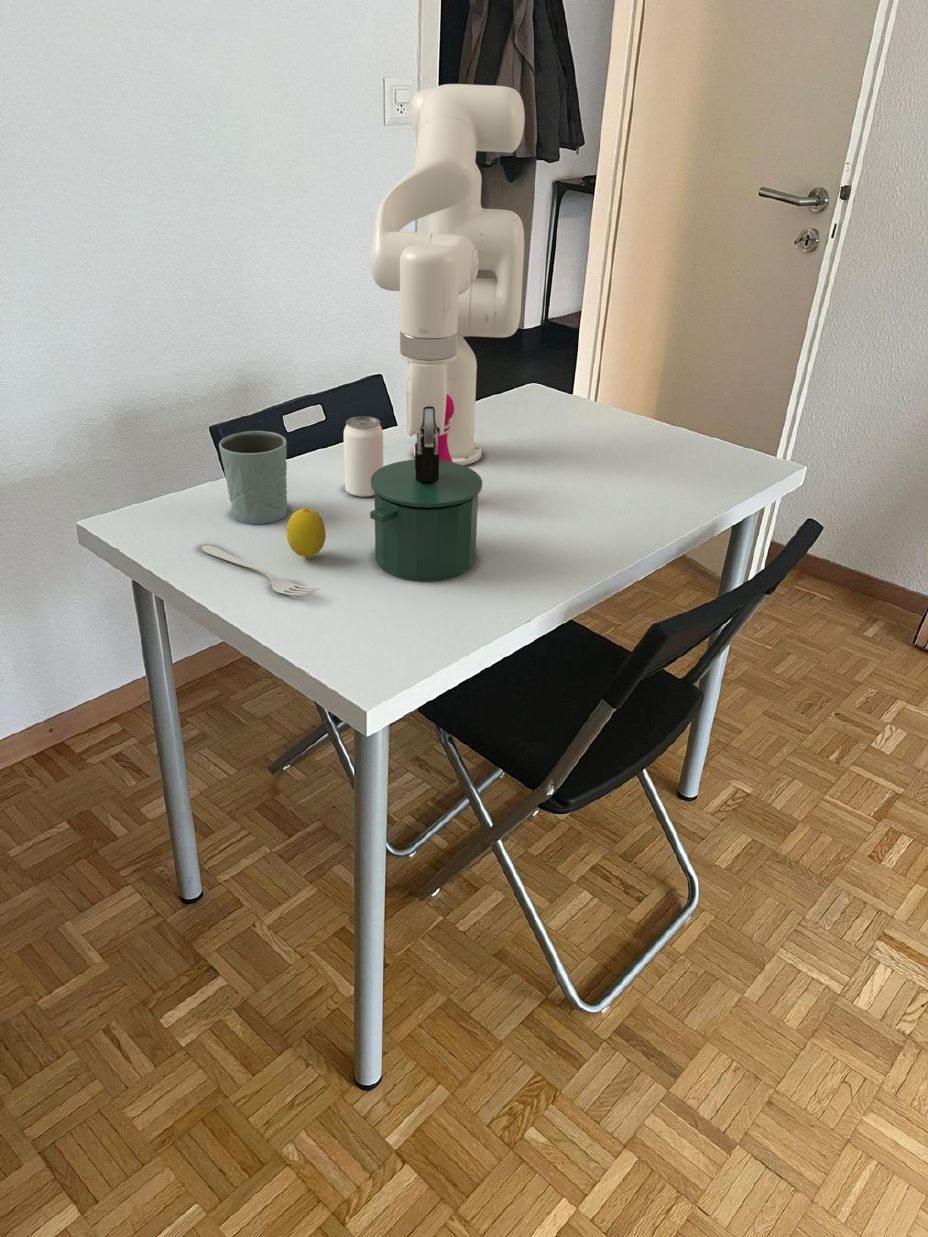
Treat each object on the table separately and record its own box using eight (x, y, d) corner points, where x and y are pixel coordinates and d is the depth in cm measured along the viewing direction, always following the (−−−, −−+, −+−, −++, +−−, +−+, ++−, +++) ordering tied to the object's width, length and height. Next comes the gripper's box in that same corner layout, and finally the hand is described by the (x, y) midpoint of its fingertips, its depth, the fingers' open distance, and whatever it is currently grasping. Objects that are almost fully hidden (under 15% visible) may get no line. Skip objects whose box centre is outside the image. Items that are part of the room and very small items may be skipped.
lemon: (319, 568, 140) (317, 517, 136) (282, 564, 141) (279, 513, 137) (331, 552, 145) (329, 502, 141) (296, 547, 146) (293, 498, 141)
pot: (341, 564, 141) (339, 494, 136) (433, 523, 155) (435, 457, 149) (415, 598, 133) (415, 525, 128) (505, 551, 147) (510, 483, 141)
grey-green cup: (300, 519, 154) (296, 446, 148) (238, 531, 150) (232, 457, 144) (276, 496, 162) (271, 426, 156) (217, 507, 157) (209, 436, 151)
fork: (212, 543, 146) (211, 532, 145) (322, 599, 132) (322, 587, 132) (194, 550, 144) (193, 539, 143) (304, 607, 130) (303, 595, 129)
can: (353, 500, 161) (352, 430, 155) (339, 486, 166) (337, 418, 160) (389, 494, 164) (389, 425, 158) (374, 480, 169) (373, 413, 163)
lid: (347, 488, 138) (346, 443, 135) (423, 458, 148) (423, 415, 145) (430, 522, 129) (431, 475, 126) (504, 487, 140) (506, 443, 136)
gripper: (399, 328, 135) (399, 453, 145) (400, 363, 121) (400, 499, 131) (453, 329, 136) (449, 453, 145) (461, 364, 122) (456, 499, 131)
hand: (426, 474), depth 138 cm, fingers closed on lid, 2 cm apart
